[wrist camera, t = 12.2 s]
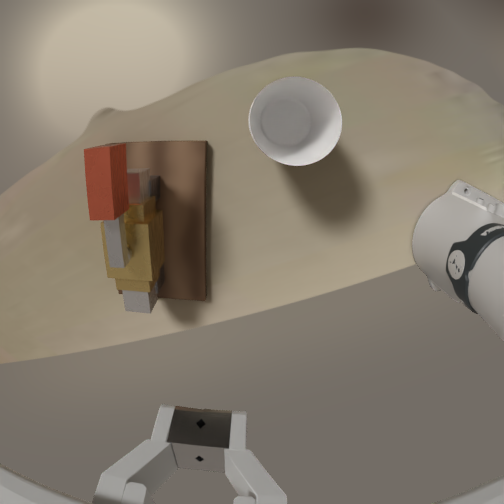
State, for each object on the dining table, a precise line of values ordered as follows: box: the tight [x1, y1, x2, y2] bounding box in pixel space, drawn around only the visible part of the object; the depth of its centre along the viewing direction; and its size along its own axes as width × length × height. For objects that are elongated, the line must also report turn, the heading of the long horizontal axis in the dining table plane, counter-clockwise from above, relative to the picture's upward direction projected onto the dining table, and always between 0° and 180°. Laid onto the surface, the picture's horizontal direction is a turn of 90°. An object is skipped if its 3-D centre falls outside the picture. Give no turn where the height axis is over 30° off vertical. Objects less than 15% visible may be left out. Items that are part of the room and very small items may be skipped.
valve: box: [101, 168, 165, 313], centre depth 39 cm, size 6×18×8 cm, turn 177°
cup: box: [249, 77, 342, 166], centre depth 33 cm, size 9×9×12 cm
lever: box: [84, 143, 132, 268], centre depth 30 cm, size 13×3×5 cm, turn 178°
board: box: [105, 141, 207, 301], centre depth 43 cm, size 14×23×2 cm, turn 177°
